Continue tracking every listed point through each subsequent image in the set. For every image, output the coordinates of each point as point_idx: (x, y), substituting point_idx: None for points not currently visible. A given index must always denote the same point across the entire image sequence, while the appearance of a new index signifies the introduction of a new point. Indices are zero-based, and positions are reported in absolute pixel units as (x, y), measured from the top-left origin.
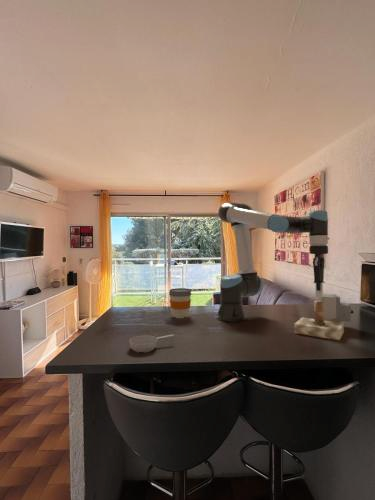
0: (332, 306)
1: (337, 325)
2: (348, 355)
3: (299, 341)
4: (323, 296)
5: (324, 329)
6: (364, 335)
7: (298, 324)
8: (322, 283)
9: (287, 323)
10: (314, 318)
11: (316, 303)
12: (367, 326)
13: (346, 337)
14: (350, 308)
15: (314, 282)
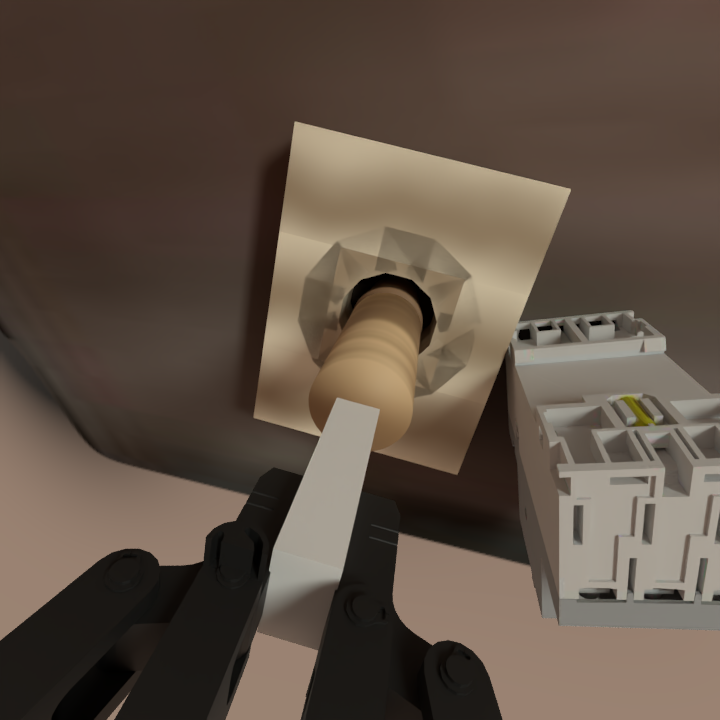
0: (537, 493)
1: None
2: (80, 390)
3: (146, 171)
4: (602, 494)
5: (266, 340)
6: (414, 516)
7: (293, 160)
8: (304, 639)
9: (603, 36)
10: (371, 300)
11: (320, 371)
12: None
13: None
14: (537, 596)
15: (219, 540)
